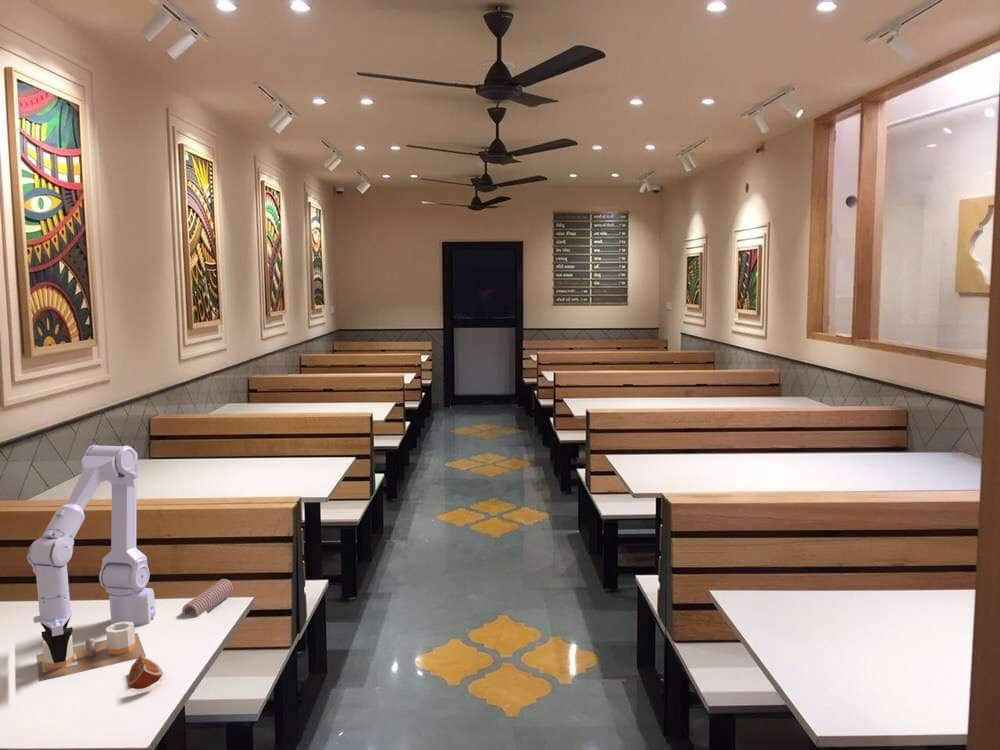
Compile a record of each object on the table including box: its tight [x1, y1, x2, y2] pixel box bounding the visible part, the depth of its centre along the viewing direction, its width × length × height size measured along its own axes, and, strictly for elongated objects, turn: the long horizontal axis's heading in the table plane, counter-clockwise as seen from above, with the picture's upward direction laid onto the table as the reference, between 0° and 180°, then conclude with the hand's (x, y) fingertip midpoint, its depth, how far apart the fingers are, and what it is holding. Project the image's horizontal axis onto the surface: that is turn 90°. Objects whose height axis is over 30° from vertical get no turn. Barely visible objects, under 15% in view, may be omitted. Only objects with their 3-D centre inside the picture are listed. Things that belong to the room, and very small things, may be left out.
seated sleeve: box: [105, 621, 136, 655], centre depth 178 cm, size 5×5×5 cm
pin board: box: [36, 632, 147, 682], centre depth 175 cm, size 20×14×5 cm
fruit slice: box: [126, 655, 164, 690], centre depth 165 cm, size 8×7×5 cm
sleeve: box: [42, 634, 74, 669], centre depth 172 cm, size 5×5×5 cm
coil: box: [181, 578, 234, 618], centre depth 204 cm, size 5×5×18 cm
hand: (59, 656), depth 172 cm, fingers closed on sleeve, 5 cm apart
